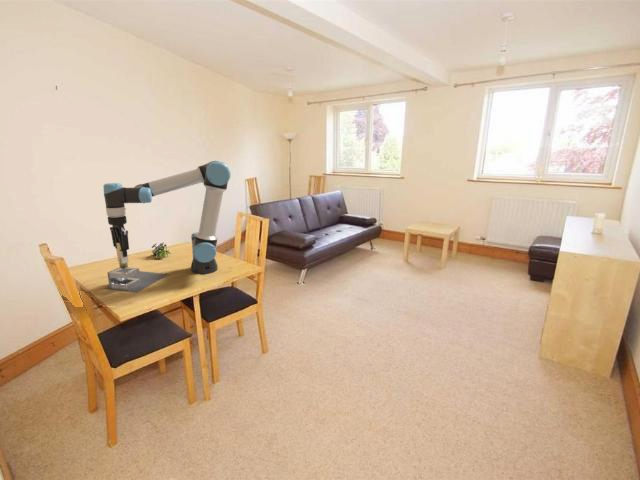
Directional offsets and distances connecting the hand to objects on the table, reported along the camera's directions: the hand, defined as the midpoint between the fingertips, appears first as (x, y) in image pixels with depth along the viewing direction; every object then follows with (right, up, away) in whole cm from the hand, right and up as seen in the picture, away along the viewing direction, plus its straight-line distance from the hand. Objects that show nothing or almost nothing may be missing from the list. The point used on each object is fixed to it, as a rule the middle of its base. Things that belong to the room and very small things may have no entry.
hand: (123, 261), depth 155 cm
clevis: (0, -13, +3) cm, 13 cm away
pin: (0, -3, +1) cm, 3 cm away
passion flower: (-7, 0, +50) cm, 51 cm away
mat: (+2, -11, +10) cm, 15 cm away
